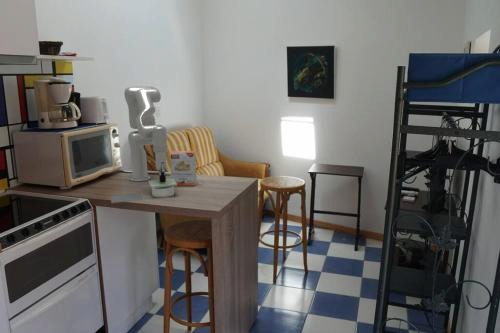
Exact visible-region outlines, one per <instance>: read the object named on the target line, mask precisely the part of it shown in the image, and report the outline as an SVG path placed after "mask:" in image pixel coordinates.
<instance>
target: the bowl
mask: <svg viewBox="0 0 500 333" xmlns="http://www.w3.org/2000/svg"><path fill="white" fill-rule="evenodd" d="M151 195H152V196H153V197H155V198H164V197H165V198H166V197H172V196H174V195H175V186H170V187H160V188H151Z"/></svg>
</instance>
